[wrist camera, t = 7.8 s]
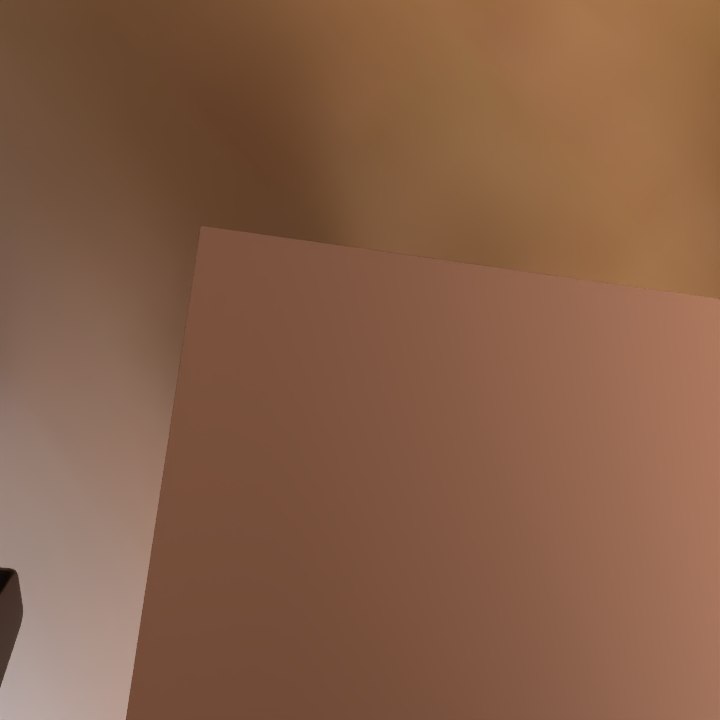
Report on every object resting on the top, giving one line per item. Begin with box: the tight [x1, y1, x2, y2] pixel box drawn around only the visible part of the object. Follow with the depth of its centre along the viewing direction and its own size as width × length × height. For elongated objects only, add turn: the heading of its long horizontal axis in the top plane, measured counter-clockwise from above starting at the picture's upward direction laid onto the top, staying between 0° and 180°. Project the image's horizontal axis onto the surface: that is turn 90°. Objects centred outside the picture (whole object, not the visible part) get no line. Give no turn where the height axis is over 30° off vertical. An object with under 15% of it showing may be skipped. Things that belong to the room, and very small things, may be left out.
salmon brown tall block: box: [126, 226, 720, 720], centre depth 11 cm, size 4×4×14 cm
